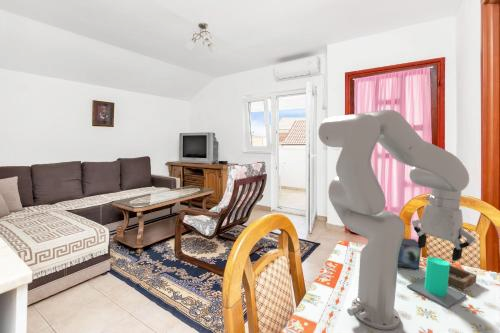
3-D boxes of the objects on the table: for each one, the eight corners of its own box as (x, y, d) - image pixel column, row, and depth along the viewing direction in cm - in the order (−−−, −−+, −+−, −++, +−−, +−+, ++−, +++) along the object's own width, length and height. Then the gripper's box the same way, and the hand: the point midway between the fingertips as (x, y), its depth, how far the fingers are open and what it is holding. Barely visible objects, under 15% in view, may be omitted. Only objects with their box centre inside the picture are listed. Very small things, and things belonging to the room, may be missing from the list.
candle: (450, 297, 77) (454, 262, 76) (429, 294, 79) (433, 260, 77) (440, 286, 83) (443, 253, 82) (421, 283, 84) (424, 251, 83)
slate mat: (447, 308, 73) (448, 306, 73) (406, 287, 84) (407, 285, 83) (465, 296, 79) (466, 295, 79) (425, 278, 89) (425, 276, 89)
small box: (390, 267, 96) (392, 242, 95) (384, 259, 103) (386, 236, 101) (419, 271, 94) (422, 245, 93) (412, 262, 100) (414, 238, 99)
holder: (462, 290, 82) (463, 282, 81) (429, 275, 91) (430, 268, 90) (475, 282, 86) (476, 275, 86) (443, 269, 95) (443, 262, 95)
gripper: (409, 197, 83) (404, 244, 85) (473, 211, 68) (465, 268, 70) (421, 196, 87) (415, 241, 88) (484, 208, 72) (476, 263, 73)
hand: (437, 253), depth 79 cm, fingers open, 9 cm apart
